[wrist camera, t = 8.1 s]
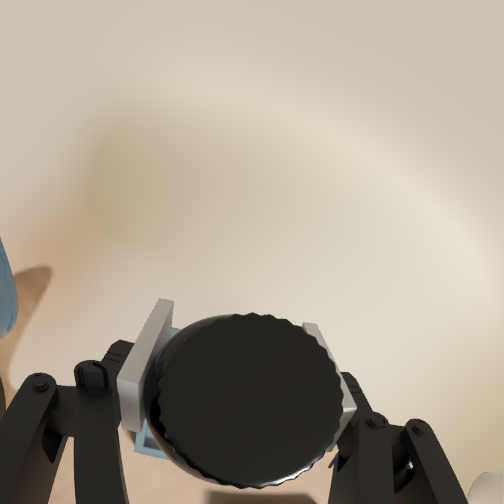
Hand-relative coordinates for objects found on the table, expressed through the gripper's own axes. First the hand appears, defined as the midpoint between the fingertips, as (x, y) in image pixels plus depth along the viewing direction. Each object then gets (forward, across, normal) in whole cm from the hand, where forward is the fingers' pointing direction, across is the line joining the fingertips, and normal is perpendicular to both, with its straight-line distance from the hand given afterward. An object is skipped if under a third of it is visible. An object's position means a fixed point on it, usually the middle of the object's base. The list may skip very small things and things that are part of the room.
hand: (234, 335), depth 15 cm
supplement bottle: (0, 0, -6) cm, 6 cm away
